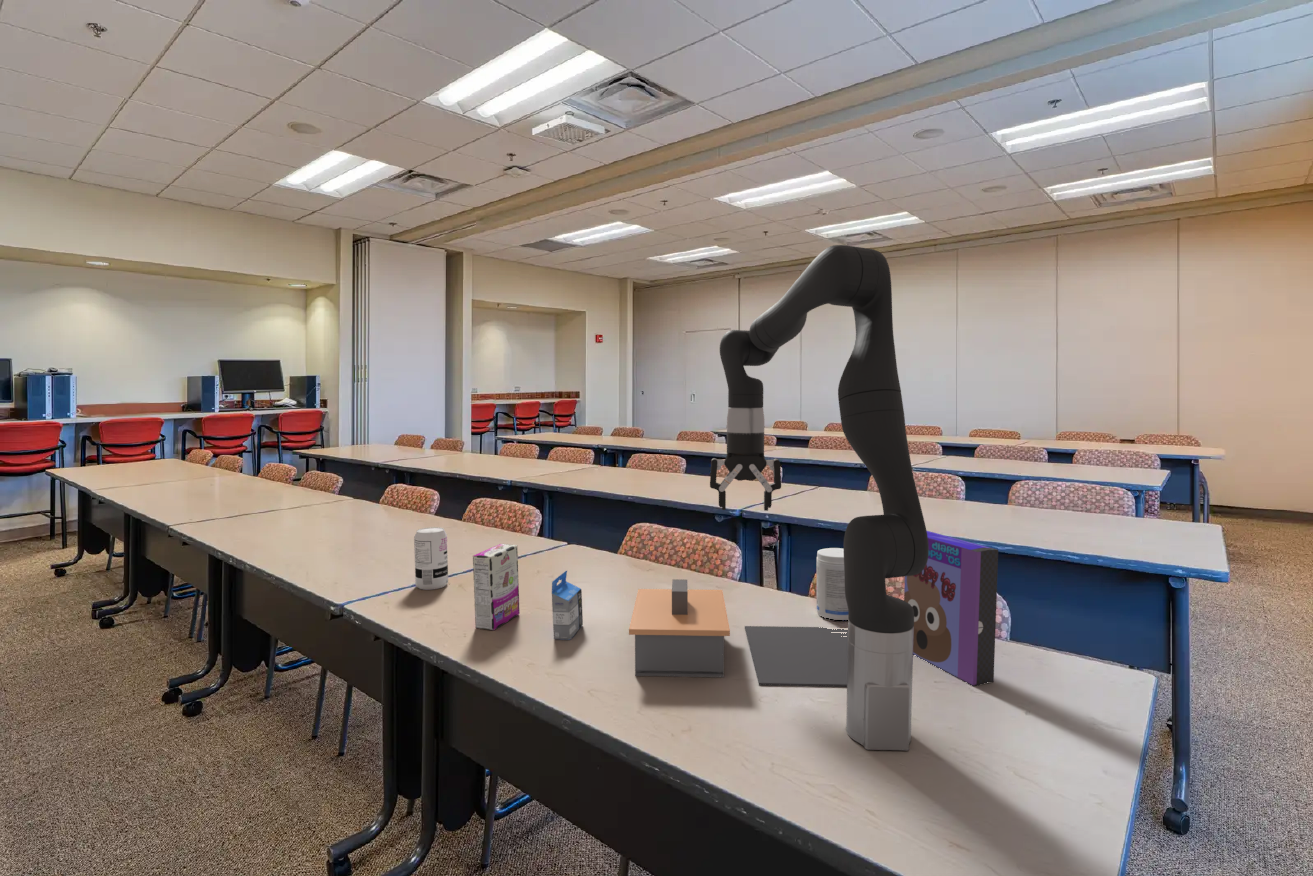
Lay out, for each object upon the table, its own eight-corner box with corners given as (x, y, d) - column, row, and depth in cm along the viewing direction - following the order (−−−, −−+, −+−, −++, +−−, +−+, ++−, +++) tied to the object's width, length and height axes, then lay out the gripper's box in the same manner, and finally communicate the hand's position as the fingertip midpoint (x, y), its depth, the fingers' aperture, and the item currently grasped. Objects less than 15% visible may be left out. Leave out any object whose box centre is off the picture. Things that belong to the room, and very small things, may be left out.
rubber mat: (897, 687, 115) (897, 685, 115) (759, 685, 116) (759, 683, 116) (856, 629, 143) (856, 627, 143) (744, 627, 144) (744, 626, 144)
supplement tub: (868, 617, 150) (869, 553, 149) (839, 625, 145) (840, 559, 144) (835, 605, 158) (836, 545, 157) (807, 613, 153) (807, 550, 152)
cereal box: (902, 649, 131) (905, 530, 130) (921, 646, 133) (925, 529, 131) (972, 686, 115) (977, 551, 113) (993, 682, 117) (998, 548, 115)
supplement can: (414, 583, 177) (412, 528, 176) (446, 580, 180) (444, 525, 179) (417, 592, 170) (415, 534, 168) (450, 588, 173) (448, 531, 172)
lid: (722, 599, 141) (722, 569, 141) (729, 641, 117) (730, 605, 117) (638, 598, 142) (638, 568, 142) (628, 640, 118) (628, 604, 118)
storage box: (717, 632, 141) (717, 595, 140) (723, 677, 119) (723, 633, 118) (642, 631, 142) (642, 595, 141) (635, 675, 120) (634, 632, 119)
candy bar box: (501, 612, 154) (500, 543, 153) (520, 614, 152) (519, 544, 151) (473, 628, 144) (471, 554, 142) (493, 631, 142) (491, 556, 141)
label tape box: (570, 640, 137) (569, 582, 136) (551, 639, 137) (550, 581, 136) (583, 625, 145) (582, 571, 144) (565, 624, 146) (565, 570, 145)
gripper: (710, 431, 130) (709, 512, 131) (783, 431, 129) (782, 513, 130) (710, 429, 137) (709, 506, 139) (779, 429, 136) (778, 507, 137)
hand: (744, 509), depth 134 cm, fingers open, 8 cm apart
